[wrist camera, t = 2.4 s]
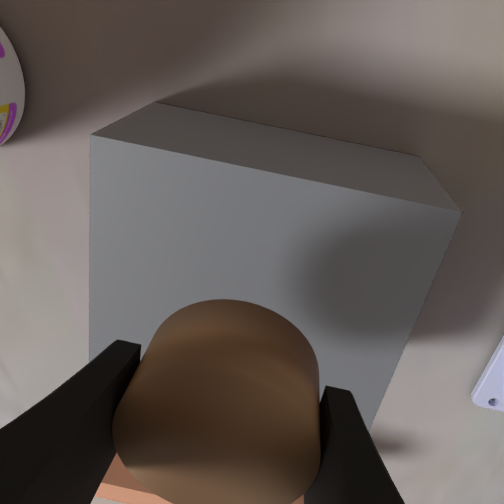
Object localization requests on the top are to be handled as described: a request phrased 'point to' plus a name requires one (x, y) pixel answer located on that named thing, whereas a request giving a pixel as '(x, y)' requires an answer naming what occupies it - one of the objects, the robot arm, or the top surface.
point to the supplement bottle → (10, 89)
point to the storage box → (264, 236)
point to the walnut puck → (223, 408)
